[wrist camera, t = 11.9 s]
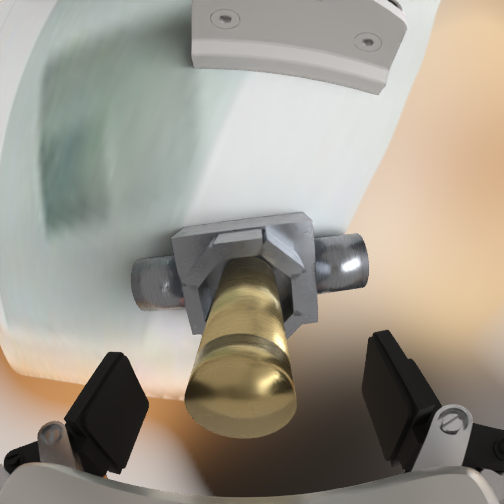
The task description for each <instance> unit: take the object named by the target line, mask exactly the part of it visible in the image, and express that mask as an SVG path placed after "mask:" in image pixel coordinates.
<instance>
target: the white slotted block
mask: <svg viewBox="0 0 504 504" xmlns="http://www.w3.org/2000/svg"><path fill="white" fill-rule="evenodd" d="M406 31H407V24H406V17H405V15H404V13H403V12H402V7H401V5H400V4H399V3H398V2H397V1H396V0H192V52H191V58H192V62H193V66H194V68H213V69H235V70H248V71H259V72H268V73H277V74H284V75H291V76H297V77H303V78H309V79H314V80H319V81H324V82H329V83H334V84H338V85H342V86H346V87H351V88H354V89H358V90H362V91H366V92H369V93H373V94H376V95H379V93H380V92H381V91H382V89H383V88H384V87H385V85H386V81H387V77H388V73H389V69H390V67H391V65H392V62H393V60H394V58H395V56H396V53H397V51H398V49H399V47H400V44H401V42H402V40H403V38H404V35H405V33H406Z"/></svg>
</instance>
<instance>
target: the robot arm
mask: <svg viewBox="0 0 504 504" xmlns="http://www.w3.org/2000/svg"><path fill="white" fill-rule="evenodd" d="M362 394H363V397H364V400H365V403H366V406H367V408H368V411H369V414H370V417H371V419H372V422H373V425H374V428H375V431H376V434H377V437H378V440H379V443H380V446H381V448H382V452H383V455H384V458H385V460H386V461H389V460H390V462H391V465H392V467H393V466H396V465H399V464H401V466H402V468H403V469H404V470H405V471H404V473H403V474H400V475H397V476H393V477H389V478H385V479H381V480H377V481H373V482H369V483H365V484H361V485H356V486H351V487H346V488H341V489H336V490H329V491H323V492H317V493H309V494H301V495H290V496H277V497H255V498H254V497H253V498H252V497H251V498H239V497H237V498H236V497H211V496H198V495H189V494H180V493H172V492H166V491H160V490H154V489H149V488H144V487H139V486H134V485H130V484H125V483H121V482H118V481H114V480H110V479H108V478H107V475H106V473H107V470H108V471H109V472H113V473H116V474H120V473H121V471H122V469H124V468H125V467H126V465H127V462H128V460H129V457H130V454H131V452H132V449H133V446H134V444H135V441H136V439H137V436H138V433H139V431H140V428H141V426H142V423H143V421H144V418H145V416H146V413H147V411H148V408H149V402H148V399H147V397H146V396H145V394H144V392H143V390H142V388H141V385H140V383H139V381H138V379H137V377H136V375H135V373H134V371H133V368H132V366H131V364H130V362H129V359H128V358H127V357H126V356H124V354H123V353H121V352H108V353H107V355H106V356H105V357H104V359H103V360H102V362H101V363H100V365H99V366H98V368H97V369H96V370H95V372H94V373H93V375H92V376H91V378H90V379H89V381H88V382H87V384H86V385H85V387H84V388H83V390H82V392H81V393H80V394H79V396H78V397H77V399H76V401H75V402H74V404H73V405H72V407H71V408H70V410H69V411H68V413H67V415H66V416H65V418H64V420H65V421H66V424H65V425H64V424H63V423H61V422H59V421H52V422H48V423H46V424H45V425H44V426H42V427H41V429H40V430H39V432H38V438H37V439H38V441H36V442H33V443H30V444H28V445H25V446H22V447H19V448H17V449H14V450H12V451H10V452H9V453H8V454H7V455H6V457H5V459H4V466H3V465H2V464H0V504H504V430H501V429H496V428H492V427H487V426H483V425H479V424H475V423H472V422H473V419H472V416H471V414H470V412H469V411H468V410H467V409H466V408H464V407H463V406H460V405H453V404H451V405H446V406H444V407H442V406H441V404H440V402H439V400H438V399H437V397H436V396H435V394H434V392H433V390H432V389H431V387H430V386H429V384H428V382H427V381H426V379H425V377H424V376H423V374H422V373H421V371H420V370H419V368H418V366H417V365H416V363H415V362H414V361H413V360H412V359H407V357H406V356H405V354H404V352H403V351H402V349H401V348H400V346H399V345H398V343H397V342H396V340H395V339H394V337H393V336H392V334H391V333H390V331H389V330H384V331H379V332H374V333H373V336H372V337H369V339H368V346H367V354H366V362H365V370H364V376H363V383H362Z"/></svg>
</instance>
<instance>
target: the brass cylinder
mask: <svg viewBox="0 0 504 504" xmlns="http://www.w3.org/2000/svg"><path fill="white" fill-rule="evenodd" d="M184 400H185V406H186V409H187V411H188V413H189V414H190V416H191V417H192V418H193V419H194V420H195V421H196V422H197V423H198V424H199V425H201V426H202V427H204V428H205V429H207V430H209V431H211V432H214V433H216V434H219V435H222V436H227V437H232V438H255V437H261V436H265V435H268V434H271V433H273V432H275V431H277V430H279V429H281V428H282V427H283V426H285V425H286V424H287V423H288V422H289V421H290V420H291V418H292V417H293V416H294V413H295V411H296V407H297V400H296V394H295V388H294V382H293V376H292V369H291V364H290V357H289V352H288V346H287V339H286V334H285V328H284V322H283V316H282V311H281V305H280V299H279V294H278V288H277V283H276V277H275V274H274V271H273V270H272V268H271V267H270V266H269V264H267V263H266V262H265V261H263V260H262V259H260V258H257V257H252V256H248V257H240V258H237V259H235V260H233V261H231V262H230V263H229V264H228V265H227V266H226V267H225V269H224V270H223V272H222V275H221V278H220V282H219V285H218V288H217V291H216V294H215V297H214V301H213V304H212V307H211V310H210V313H209V316H208V320H207V323H206V326H205V329H204V333H203V336H202V339H201V342H200V346H199V349H198V352H197V356H196V359H195V362H194V366H193V369H192V372H191V376H190V379H189V382H188V386H187V389H186V393H185V399H184Z"/></svg>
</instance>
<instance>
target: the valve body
mask: <svg viewBox="0 0 504 504" xmlns="http://www.w3.org/2000/svg"><path fill="white" fill-rule="evenodd" d="M171 242H172V247H173V252H174V255H170V256H162V257H154V258H146V259H139V260H137V261H136V262H135V264H134V266H133V269H132V274H131V286H132V293H133V296H134V299H135V302H136V304H137V305H138V307H139V308H140V309H141V310H143V311H153V310H169V309H183V308H186V310H187V314H188V318H189V322H190V326H191V330H192V334H193V335H196V334H202V335H203V333H204V329H205V326H206V323H207V320H208V316H209V313H210V310H211V307H212V304H213V301H214V297H215V294H216V291H217V288H218V285H219V282H220V278H221V275H222V272H223V270H224V269H225V267H226V266H227V265H228V264H229V263H230V262H231V261H233V260H235V259H237V258H240V257H248V256H252V257H257V258H260V259H262V260H263V261H265V262H266V263H267V264H269V266H270V267H271V268H272V270H273V271H274V274H275V277H276V283H277V288H278V294H279V299H280V305H281V311H282V316H283V322H284V328H285V334H286V339H288V338H289V337H290V336H291V335H292V334H293V333H294V332H295V331H296V330H297V329H298V328H299V327H300V326H301V325H302V324H308V323H315V322H318V304H317V294H323V293H330V292H337V291H343V290H350V289H357V288H363V287H365V286H366V284H367V281H368V276H369V261H368V254H367V250H366V246H365V243H364V241H363V239H362V237H361V236H360V235H359V234H357V233H356V234H347V235H338V236H329V237H320V238H314V232H313V221H312V220H311V219H310V218H309V217H308V216H307V215H306V214H305V213H304V212H300V213H291V214H282V215H273V216H265V217H257V218H248V219H241V220H233V221H225V222H217V223H210V224H203V225H196V226H189V227H184V228H183V229H181V230H180V231H179V232H178V233H176V234H175V235H174V236H173V237H172V238H171Z"/></svg>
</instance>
